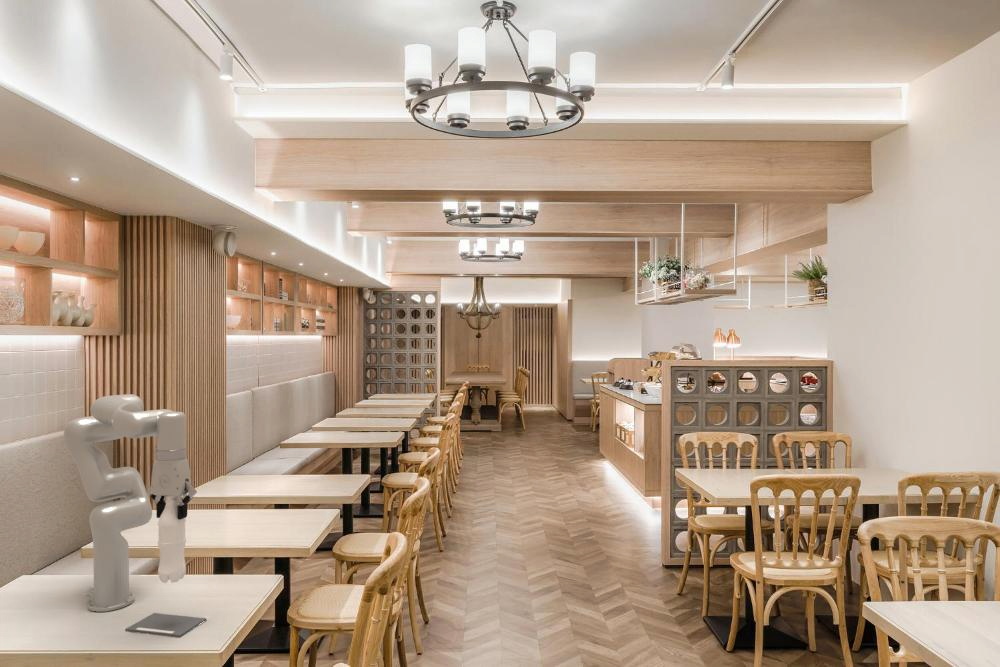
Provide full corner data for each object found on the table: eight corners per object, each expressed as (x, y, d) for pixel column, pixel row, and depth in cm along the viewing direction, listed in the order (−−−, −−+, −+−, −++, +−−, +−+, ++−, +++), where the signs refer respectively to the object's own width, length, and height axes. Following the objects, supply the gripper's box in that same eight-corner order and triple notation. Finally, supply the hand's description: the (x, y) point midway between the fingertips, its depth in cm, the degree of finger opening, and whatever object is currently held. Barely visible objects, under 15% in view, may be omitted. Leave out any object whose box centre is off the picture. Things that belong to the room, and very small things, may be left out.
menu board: (125, 631, 186) (125, 628, 186) (154, 614, 197) (154, 612, 197) (180, 637, 182) (180, 635, 182) (206, 620, 193) (206, 618, 193)
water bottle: (174, 585, 185) (174, 496, 185) (152, 583, 186) (152, 495, 186) (191, 576, 192) (191, 490, 192) (169, 574, 193) (169, 489, 193)
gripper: (136, 456, 187) (136, 519, 187) (188, 458, 183) (188, 523, 183) (155, 451, 195) (155, 512, 195) (206, 453, 191) (206, 515, 191)
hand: (171, 516), depth 189 cm, fingers closed on water bottle, 6 cm apart
